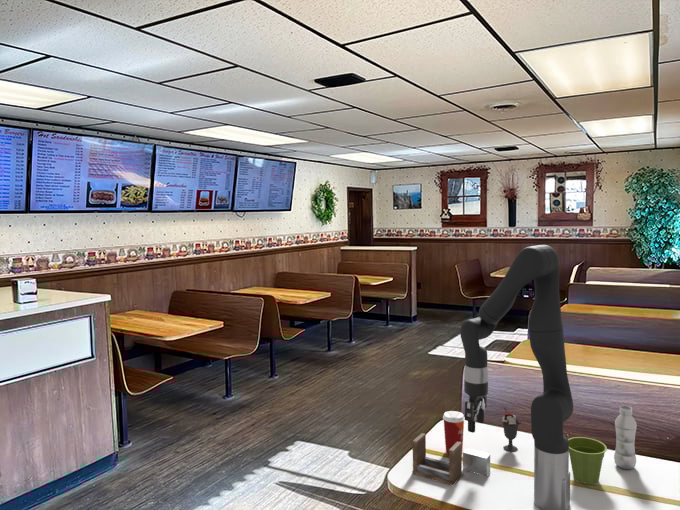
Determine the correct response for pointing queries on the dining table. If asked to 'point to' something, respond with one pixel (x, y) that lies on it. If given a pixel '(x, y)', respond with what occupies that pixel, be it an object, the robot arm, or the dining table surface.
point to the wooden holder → (437, 462)
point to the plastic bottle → (625, 439)
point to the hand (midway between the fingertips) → (476, 427)
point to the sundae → (510, 430)
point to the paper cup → (453, 428)
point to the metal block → (476, 461)
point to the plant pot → (586, 459)
